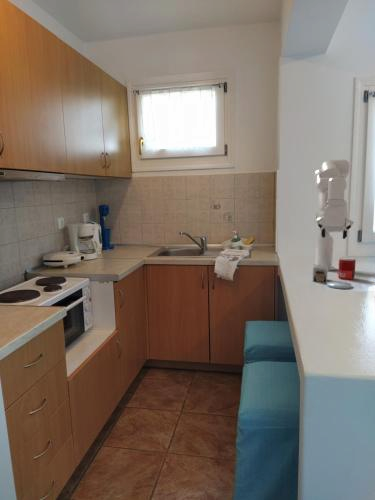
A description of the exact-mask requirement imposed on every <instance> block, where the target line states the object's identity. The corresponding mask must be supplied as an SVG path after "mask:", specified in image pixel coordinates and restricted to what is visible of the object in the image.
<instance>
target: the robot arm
mask: <svg viewBox="0 0 375 500" xmlns="http://www.w3.org/2000/svg"><path fill="white" fill-rule="evenodd" d="M350 167H351V166H350V163H349V161H348V160H346V159H328V160H324V161H323V163H322V164H321V168H319V169H317V170H315V172H314V177H313V178H314V183H315V187H316V192H317V193H318V194H317V198H318V201H317V203H318V204H317V206H318V209H317V210H318V213H319V214H321V216H318V217H317V218H316V219H315V230H316V231H315V234H316V236H315V237H316V238H315V240H316V241H315V242H316V243H315V244H316V245H315V263H314V265H328V272H329V271H330V272H331V271H334V270H335V269H336V267H335V266H334V265H333V255H334V254H333V253H334V238H333V236H332V235H331V234H330V233H342V239H343V240H345V239H347V237H348V231H349V229H351V228H352V226H353V225H354V223H355V222H354V221H353V220H351V219H349V218H348V203H347V201H346V200H345V191H346V189H347V185H348V184H347V183H348V182H347V181H346V179H347V178H348V175H349V173H350ZM348 223H349V224H348ZM311 268H312V269H313V266H312V267H311Z"/></svg>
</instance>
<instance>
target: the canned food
mask: <svg viewBox="0 0 375 500" xmlns="http://www.w3.org/2000/svg"><path fill="white" fill-rule="evenodd" d="M356 261H357V260H356V258H354V257H351V256H350V257H349V256H340V257H339V258H338V271H337V272H338V273H337V275H338V276H337V277H338V279H339V280H344V281H352V280H355V274H356Z"/></svg>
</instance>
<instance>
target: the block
mask: <svg viewBox="0 0 375 500" xmlns="http://www.w3.org/2000/svg"><path fill="white" fill-rule="evenodd" d="M315 281H316V282H324V281H325V279H324V272H316V279H315Z"/></svg>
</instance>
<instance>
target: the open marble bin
mask: <svg viewBox="0 0 375 500" xmlns="http://www.w3.org/2000/svg"><path fill="white" fill-rule="evenodd" d="M312 267H313V268H312V282H314V280H316V272H324V280H325V283H327V282H328V272H329V271H328V265H315V264H313V265H312Z"/></svg>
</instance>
